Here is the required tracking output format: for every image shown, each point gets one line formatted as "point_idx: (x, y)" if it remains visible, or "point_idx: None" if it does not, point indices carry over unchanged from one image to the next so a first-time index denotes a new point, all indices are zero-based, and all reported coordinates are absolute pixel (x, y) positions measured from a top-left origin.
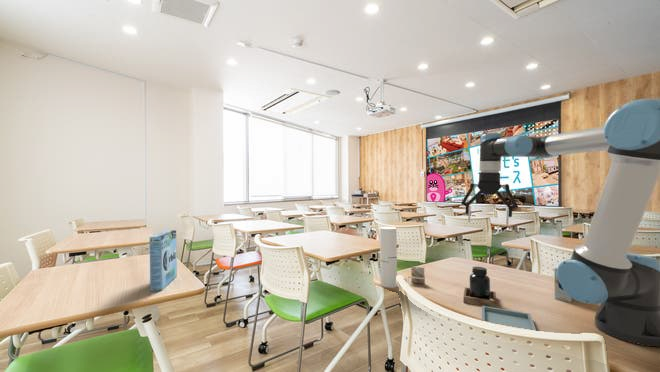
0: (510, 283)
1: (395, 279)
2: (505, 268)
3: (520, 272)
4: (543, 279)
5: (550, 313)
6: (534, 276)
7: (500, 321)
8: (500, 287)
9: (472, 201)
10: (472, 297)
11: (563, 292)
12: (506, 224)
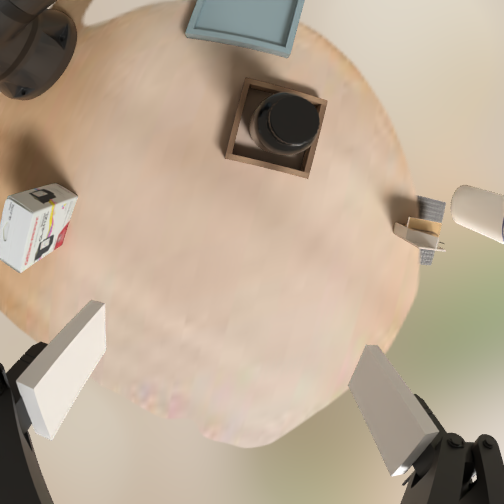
0: (152, 293)
1: (466, 196)
2: (147, 405)
3: (117, 382)
4: None
5: (124, 86)
6: None
7: (263, 5)
8: (187, 251)
9: (439, 484)
10: (305, 95)
11: (54, 190)
12: (99, 306)
